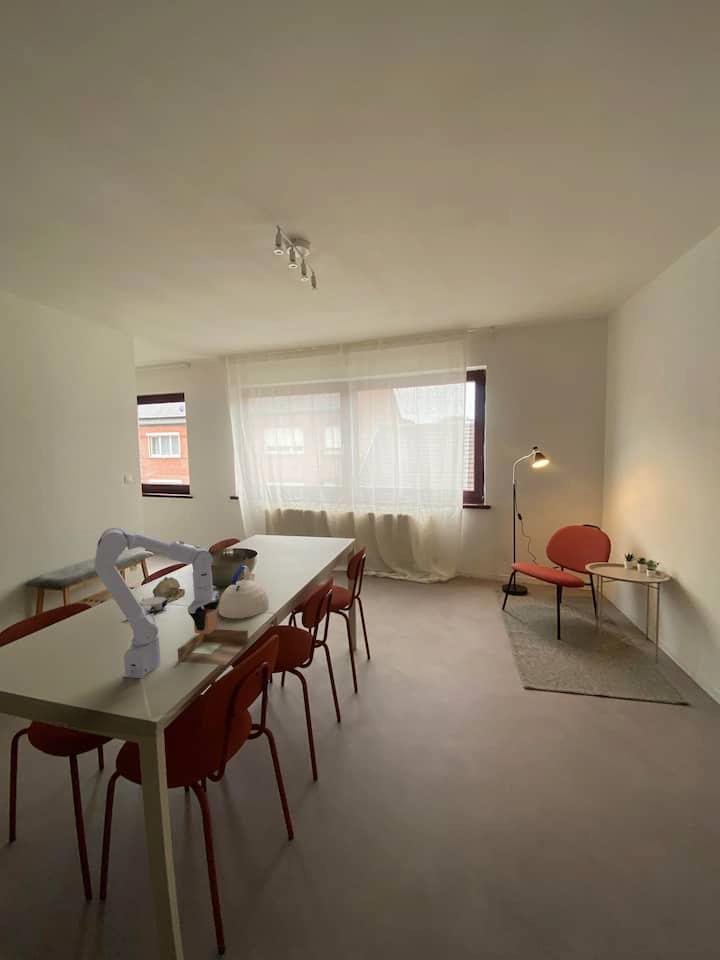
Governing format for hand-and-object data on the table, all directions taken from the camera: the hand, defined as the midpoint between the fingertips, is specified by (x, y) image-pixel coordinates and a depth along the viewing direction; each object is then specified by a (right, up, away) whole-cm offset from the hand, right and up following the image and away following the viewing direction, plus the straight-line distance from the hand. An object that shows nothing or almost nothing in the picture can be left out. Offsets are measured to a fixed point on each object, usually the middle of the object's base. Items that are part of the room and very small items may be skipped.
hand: (205, 626), depth 129 cm
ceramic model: (-37, -6, +50) cm, 63 cm away
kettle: (+2, -6, +36) cm, 36 cm away
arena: (+4, -9, -1) cm, 9 cm away
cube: (0, -1, 0) cm, 1 cm away
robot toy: (-37, -8, +34) cm, 51 cm away
